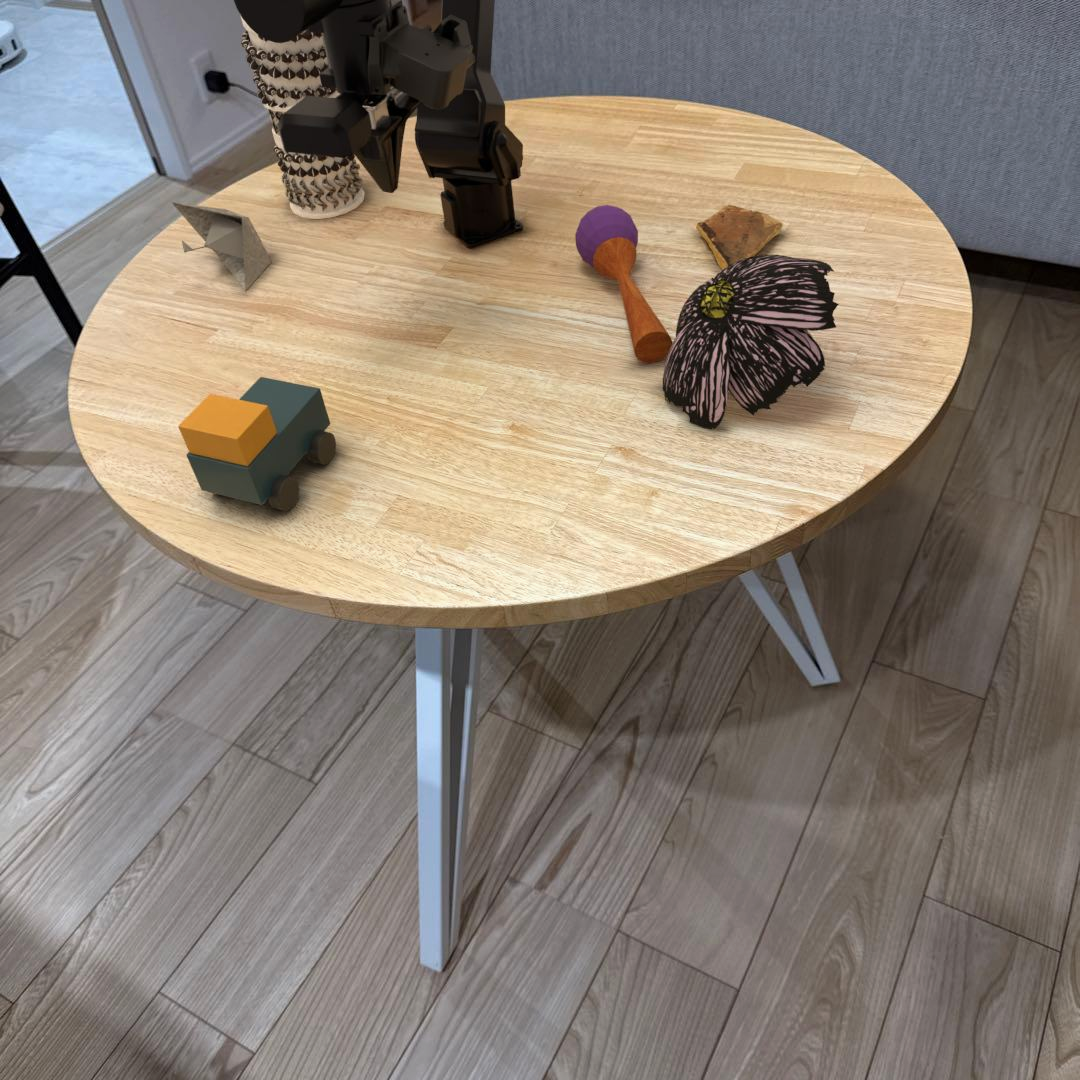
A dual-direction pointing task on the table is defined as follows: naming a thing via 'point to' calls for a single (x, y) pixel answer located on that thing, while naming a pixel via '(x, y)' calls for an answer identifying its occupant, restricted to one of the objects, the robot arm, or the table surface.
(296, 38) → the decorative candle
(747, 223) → the shard
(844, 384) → the table surface
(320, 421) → the toy truck
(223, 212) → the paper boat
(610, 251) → the purple and orange maraca
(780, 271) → the decorative flower
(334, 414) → the table surface
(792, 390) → the table surface
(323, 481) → the table surface
